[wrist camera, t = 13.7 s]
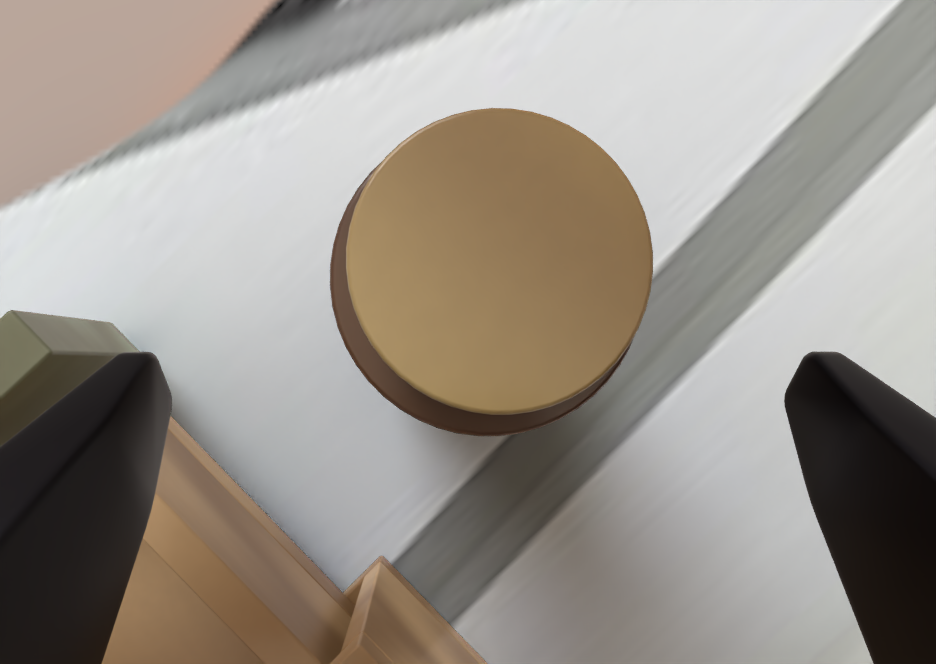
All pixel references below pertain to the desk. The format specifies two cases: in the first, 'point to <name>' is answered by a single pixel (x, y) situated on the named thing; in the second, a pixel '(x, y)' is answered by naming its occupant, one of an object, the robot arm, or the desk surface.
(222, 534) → the drawer
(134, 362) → the robot arm
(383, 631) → the drawer unit
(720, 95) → the desk surface
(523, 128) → the pepper mill
